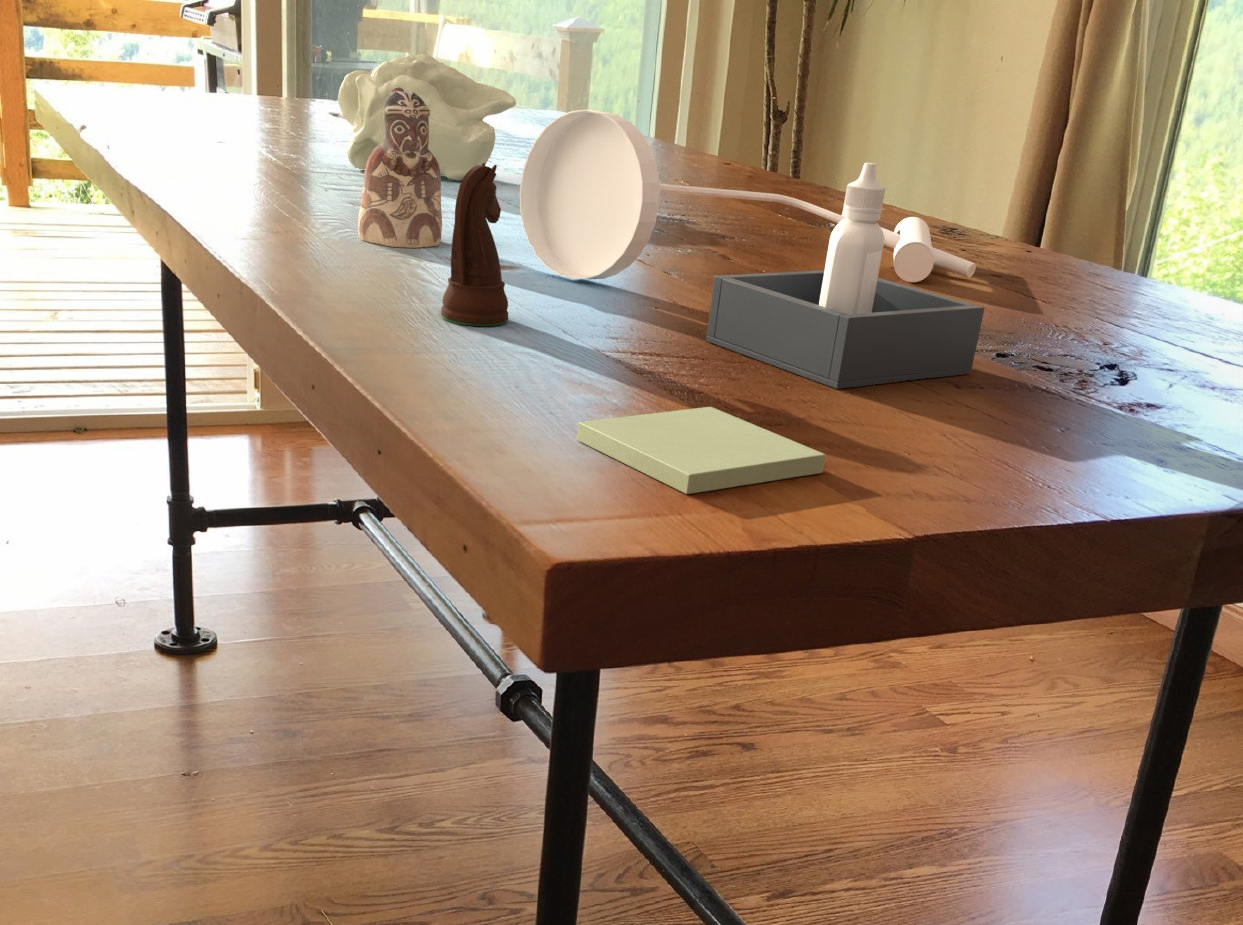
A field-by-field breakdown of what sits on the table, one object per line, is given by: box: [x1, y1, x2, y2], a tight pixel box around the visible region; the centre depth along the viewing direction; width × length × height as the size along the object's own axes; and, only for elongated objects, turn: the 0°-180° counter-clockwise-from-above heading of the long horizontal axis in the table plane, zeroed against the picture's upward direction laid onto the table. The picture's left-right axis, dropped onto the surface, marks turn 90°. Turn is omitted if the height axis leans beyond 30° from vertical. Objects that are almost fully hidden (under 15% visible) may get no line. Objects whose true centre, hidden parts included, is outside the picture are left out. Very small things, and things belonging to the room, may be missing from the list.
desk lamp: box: [519, 109, 977, 283], centre depth 123 cm, size 12×22×45 cm
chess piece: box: [440, 163, 509, 327], centre depth 95 cm, size 5×5×10 cm
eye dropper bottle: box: [819, 162, 886, 314], centre depth 93 cm, size 4×6×12 cm
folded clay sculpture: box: [337, 53, 517, 181], centre depth 159 cm, size 18×13×16 cm
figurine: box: [357, 87, 443, 249], centre depth 119 cm, size 7×7×12 cm
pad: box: [576, 406, 826, 495], centre depth 72 cm, size 9×9×1 cm
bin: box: [705, 269, 986, 390], centre depth 95 cm, size 13×13×4 cm
